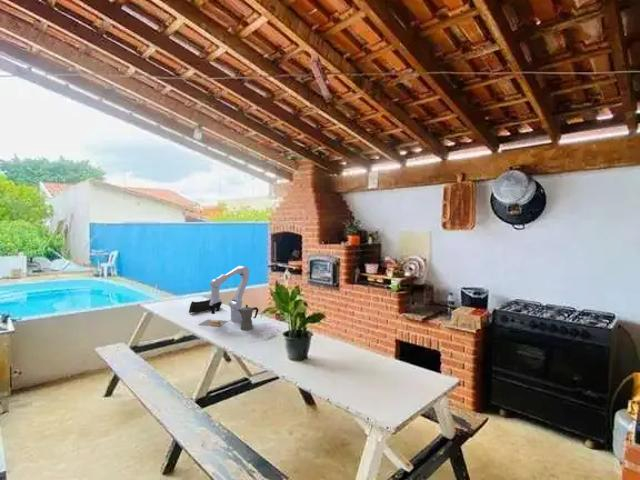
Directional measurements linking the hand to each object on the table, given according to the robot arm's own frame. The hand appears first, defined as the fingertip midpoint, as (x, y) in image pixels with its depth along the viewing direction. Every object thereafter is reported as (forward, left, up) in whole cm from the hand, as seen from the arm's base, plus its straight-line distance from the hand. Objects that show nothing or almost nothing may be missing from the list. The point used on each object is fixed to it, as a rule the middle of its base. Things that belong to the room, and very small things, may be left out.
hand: (215, 312), depth 279 cm
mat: (+3, -2, -9) cm, 10 cm away
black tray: (+28, -36, -10) cm, 46 cm away
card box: (0, +2, -9) cm, 9 cm away
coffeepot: (-28, +3, -10) cm, 30 cm away
